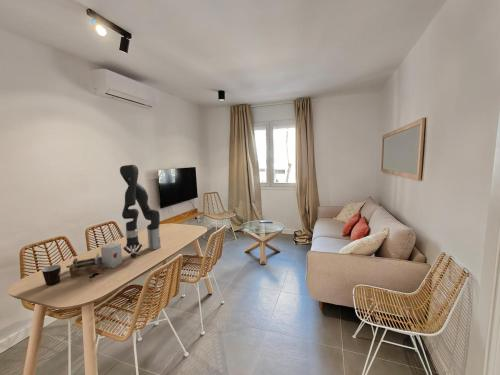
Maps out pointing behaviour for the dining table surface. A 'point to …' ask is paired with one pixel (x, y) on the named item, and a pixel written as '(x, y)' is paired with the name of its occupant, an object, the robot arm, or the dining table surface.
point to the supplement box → (111, 255)
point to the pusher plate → (97, 261)
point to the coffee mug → (52, 274)
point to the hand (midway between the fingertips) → (133, 257)
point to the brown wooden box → (85, 267)
